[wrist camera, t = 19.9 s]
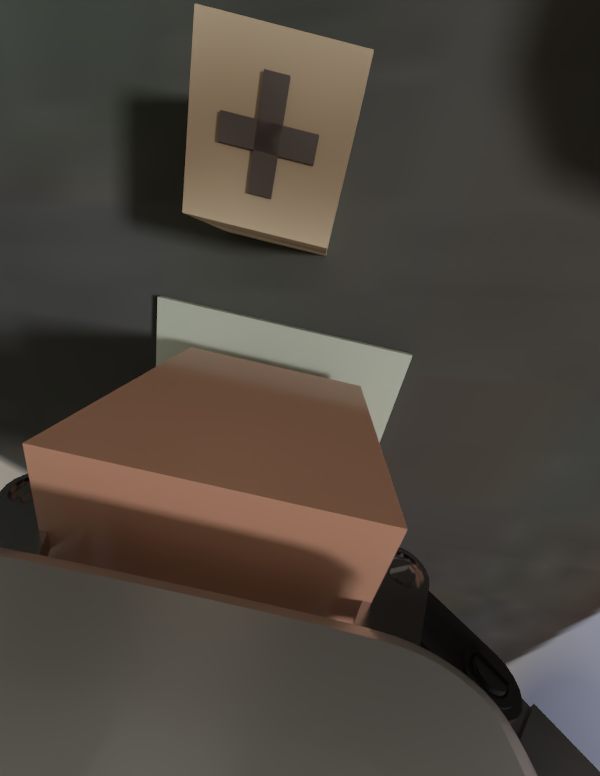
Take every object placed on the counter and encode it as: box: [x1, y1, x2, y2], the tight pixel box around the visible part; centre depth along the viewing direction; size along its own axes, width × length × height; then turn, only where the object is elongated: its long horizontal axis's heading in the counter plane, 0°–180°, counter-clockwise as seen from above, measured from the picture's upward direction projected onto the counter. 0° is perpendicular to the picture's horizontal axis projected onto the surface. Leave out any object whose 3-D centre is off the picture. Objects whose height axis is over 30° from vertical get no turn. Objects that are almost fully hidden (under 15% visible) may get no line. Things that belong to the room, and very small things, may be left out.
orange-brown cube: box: [23, 347, 408, 624], centre depth 10 cm, size 7×7×7 cm
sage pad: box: [156, 296, 412, 442], centre depth 14 cm, size 10×11×1 cm
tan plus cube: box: [182, 4, 374, 256], centre depth 9 cm, size 4×4×4 cm
